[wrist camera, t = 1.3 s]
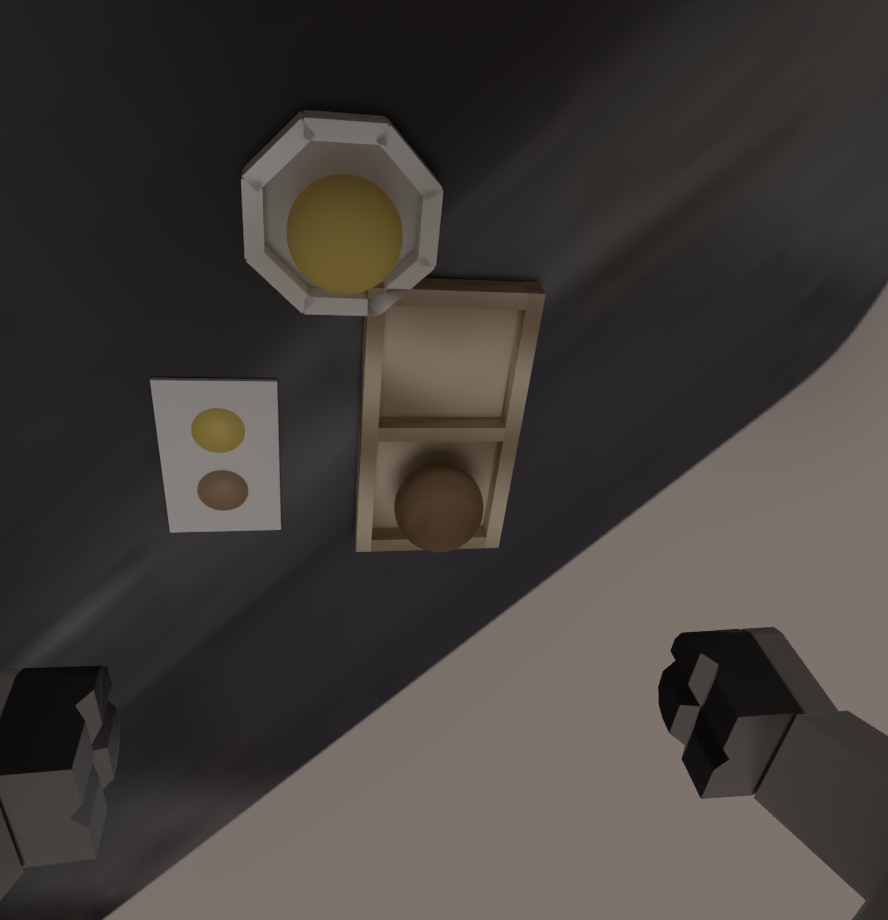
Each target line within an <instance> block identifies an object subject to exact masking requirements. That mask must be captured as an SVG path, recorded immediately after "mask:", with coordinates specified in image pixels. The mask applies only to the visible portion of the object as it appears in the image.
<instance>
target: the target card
mask: <svg viewBox="0 0 888 920" xmlns="http://www.w3.org/2000/svg"><path fill="white" fill-rule="evenodd" d="M150 384H151V391H152V399H153V407H154V414H155V422H156V429H157V437H158V444H159V452H160V459H161V467H162V475H163V482H164V490H165V497H166V505H167V512H168V520H169V527H170V532H208V531H249V530H281V508H280V469H279V430H278V391H277V379H212V378H151V379H150Z"/></svg>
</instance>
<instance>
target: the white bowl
mask: <svg viewBox="0 0 888 920" xmlns="http://www.w3.org/2000/svg"><path fill="white" fill-rule="evenodd" d="M335 174H351V175H356V176H360V177H362V178H365V179H367V180H369V181H371V182H373V183H374V184H376V185H377V186H378V187H380V188H381V189H382V190H383V191H384V192H385V193H386V194H387V195H388V196H389V198H390V199H391V200H392V202H393V204H394V205H395V207H396V209H397V211H398V213H399V216H400V220H401V223H402V231H403V242H402V249H401V252H400V256H399V259H398V261H397V263H396V265H395V267H394V268H393V270H392V271H391V273H390V274H389V275H388V276H387V277H386V278H385V279H384V280H383V284H384V288H386V290H383V291H384V292H385V291H386V293H388V292H389V291H388V292H387V289H388V290H389V289H396V290H397V289H401V290H398V291H399V292H401V293H400V294H399V292H398V291H397V292H398V293H397V292H396V291H395V293H394V290H392V291H393V292H389V295H388V294H387V296H386V293H385V294H384V292H383V291H382V292H383V294H381V292H380V293H379V295H378V296H379V297H377V295H376V297H377V298H376V297H374V298H373V301H374V300H375V301H376V299H377V301H378V302H379V300H380V301H381V300H382V299H383V300H384V301H385V304H384V301H383V300H382V301H381V302H379V304H378V302H377V301H376V302H375V301H374V302H373V301H371V300H372V299H371V300H369V299H368V296H367V291H364V292H360V293H355V294H338V293H333V292H329V291H327V290H324V289H322V288H320V287H318V286H316V285H315V284H313V283H312V282H311V281H309V280H308V279H307V278H306V277H305V276H304V275H303V274H302V273H301V272H300V270H299V269H298V267H297V266H296V264H295V263H294V261H293V259H292V257H291V254H290V251H289V248H288V243H287V234H286V230H287V221H288V216H289V213H290V210H291V207H292V205H293V203H294V201H295V200H296V199H297V197H298V196H299V194H300V193H301V192H302V191H303V190H304V189H305V188H306V187H308V186H309V185H310V184H311V183H313V182H315V181H316V180H318V179H320V178H323V177H326V176H329V175H335ZM241 191H242V212H243V233H244V254H245V259H246V262H247V263H249V264H250V265H251V266H252V267H253V268H254V269H255V270H256V271H257V272H258V273H259V274H260V275H261V276H262V277H263V278H265V279H266V280H267V281H268V282H269V283H270V284H271V285H272V286H273V287H274V288H275V289H276V290H277V291H278V292H280V293H281V294H282V295H283V296H284V297H285V298H286V299H287V300H288V301H289V302H290V303H291V304H292V305H293V306H295V307H296V308H297V309H298V310H299V311H300V312H301V313H303V312H304V314H312V315H349V316H375V315H376V316H378V315H377V314H380V315H381V314H382V313H383V312H384V311H386V310H387V309H388V308H389V307H390V305H393V304H394V303H395V302H394V301H395V300H396V301H397V299H400V296H403V294H404V293H405V291H406V293H407V291H408V289H409V290H410V289H411V288H413V287H414V286H415V285H416V284H417V283H418V282H420V281H421V280H422V279H423V278H424V277H425V276H427V275H428V274H429V273H430V272H431V271H432V270H434V269H435V268H434V266H436V261H437V251H438V240H439V230H440V220H441V210H442V200H443V189H442V186H441V184H440V183H439V181H438V179H437V178H436V176H435V175H434V174H433V173H432V172H431V170H430V169H429V168H428V167H427V165H426V164H425V163H424V162H423V161H422V159H421V158H420V157H419V156H418V154H417V153H416V152H415V151H414V150H413V148H412V147H411V146H410V145H409V143H408V142H407V141H406V140H405V139H404V137H403V136H402V135H401V134H400V132H399V131H398V130H397V129H396V128H395V126H394V125H393V124H392V123H391V121H390V120H389V119H388V118H385V116H377V115H364V114H351V113H338V112H324V111H311V110H303V113H302V112H301V111H300V112H299V113H298V114H297V115H296V116H295V117H294V118H293V119H292V120H291V121H290V122H289V123H288V124H287V125H286V126H285V127H284V128H283V129H282V130H281V131H280V132H279V133H278V134H277V135H276V136H275V137H274V138H273V139H272V140H271V141H270V142H269V143H268V144H267V145H266V146H265V147H264V148H263V149H262V150H261V151H260V152H259V153H258V154H256V155H255V156H254V157H253V158H252V159H251V160H250V161H249V162H248V163H247V164H246V165H245V166H244V168H243V171H242V176H241ZM402 289H403V290H402ZM405 289H407V290H405ZM390 291H391V290H390ZM402 291H404V292H403V294H402ZM390 293H392V294H391V297H390ZM396 293H397V294H396ZM395 294H396V295H397V296H396V295H395ZM381 295H382V296H381ZM393 295H394V296H393ZM398 295H399V297H398ZM380 297H381V298H382V297H383V298H382V299H379V298H380ZM393 297H394V298H393ZM386 298H387V302H386V300H385V299H386ZM392 298H393V300H392ZM395 298H396V299H395ZM390 299H391V300H392V304H391V300H390ZM368 300H369V301H371V302H370V303H371V304H370V303H369V302H368ZM382 302H383V303H382ZM376 303H377V305H378V306H377V305H376ZM381 303H382V305H381ZM374 304H375V305H374ZM383 304H384V305H383ZM389 304H390V305H389ZM371 305H373V306H371ZM368 306H370V307H372V308H370V307H369V309H368ZM375 306H376V307H377V308H376V307H375ZM378 307H379V308H378ZM383 307H385V308H383ZM374 308H375V309H374ZM370 309H371V312H370V311H367V310H370ZM373 309H374V310H373ZM380 309H381V310H380ZM379 310H380V311H379ZM372 311H373V312H372ZM378 311H379V312H378ZM367 312H368V313H367ZM375 312H376V313H375ZM380 312H381V313H380ZM369 313H372V314H369ZM374 313H375V315H374Z"/></svg>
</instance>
